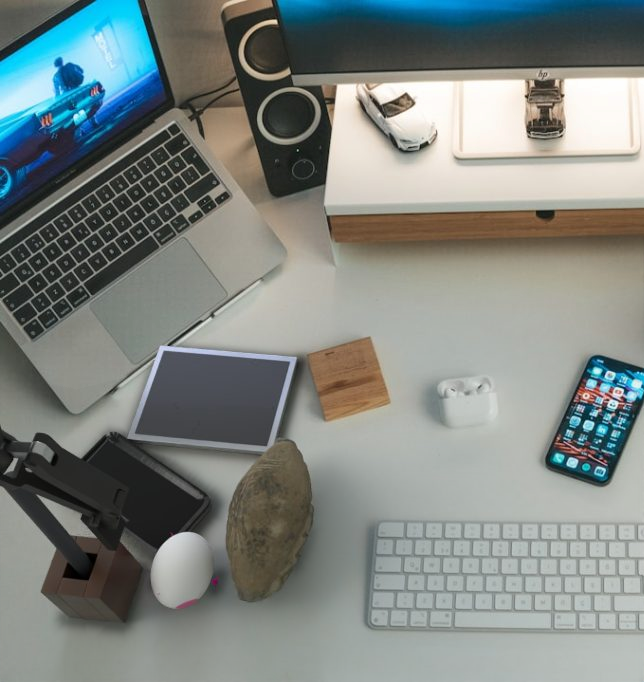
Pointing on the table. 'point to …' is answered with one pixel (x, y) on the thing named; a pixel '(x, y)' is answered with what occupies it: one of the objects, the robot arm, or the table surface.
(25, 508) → the stylus
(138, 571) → the pen stand
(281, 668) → the table surface
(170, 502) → the phone
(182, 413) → the tablet
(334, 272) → the table surface
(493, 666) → the table surface
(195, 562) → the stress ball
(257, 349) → the table surface
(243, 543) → the stone
